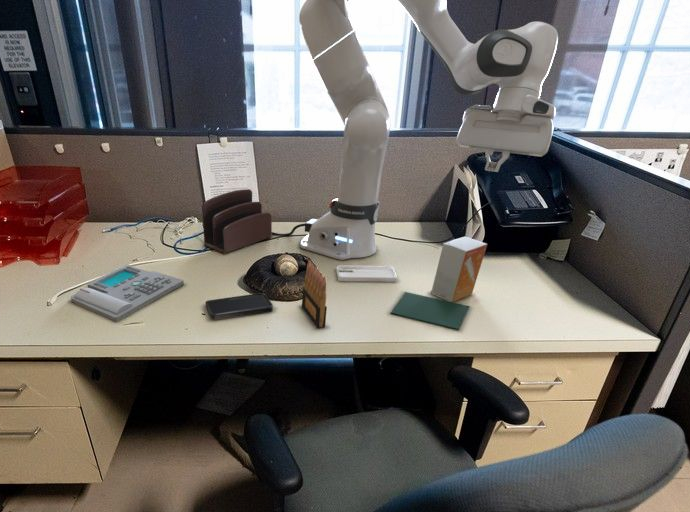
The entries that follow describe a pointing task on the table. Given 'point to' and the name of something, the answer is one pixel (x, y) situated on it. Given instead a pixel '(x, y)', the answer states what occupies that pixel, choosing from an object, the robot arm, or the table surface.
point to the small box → (458, 268)
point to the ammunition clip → (315, 296)
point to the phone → (238, 306)
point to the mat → (431, 310)
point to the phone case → (367, 274)
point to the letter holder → (234, 221)
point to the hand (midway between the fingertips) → (491, 170)
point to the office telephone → (124, 291)
